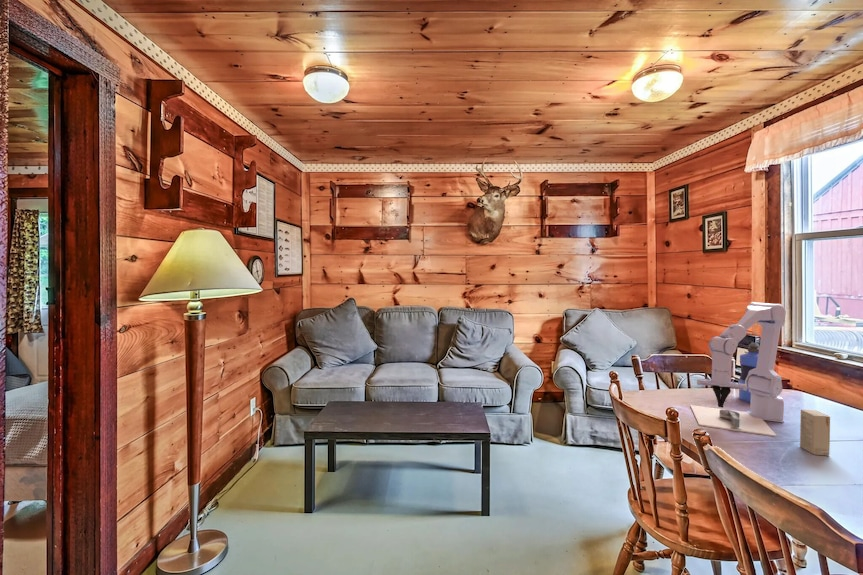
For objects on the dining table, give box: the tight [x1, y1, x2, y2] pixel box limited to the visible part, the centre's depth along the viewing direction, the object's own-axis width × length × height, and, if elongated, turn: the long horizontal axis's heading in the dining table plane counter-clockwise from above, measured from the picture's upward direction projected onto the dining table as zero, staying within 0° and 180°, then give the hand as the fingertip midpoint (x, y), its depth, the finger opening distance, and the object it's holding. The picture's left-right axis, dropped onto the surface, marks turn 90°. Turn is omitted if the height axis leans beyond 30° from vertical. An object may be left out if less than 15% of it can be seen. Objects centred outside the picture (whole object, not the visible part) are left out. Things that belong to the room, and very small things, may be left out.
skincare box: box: [799, 409, 831, 456], centre depth 123 cm, size 6×4×12 cm
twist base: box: [690, 404, 777, 438], centre depth 149 cm, size 22×22×1 cm
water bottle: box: [738, 342, 767, 404], centre depth 170 cm, size 9×9×25 cm
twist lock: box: [720, 409, 740, 427], centre depth 145 cm, size 13×6×3 cm, turn 155°
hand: (720, 406), depth 144 cm, fingers closed
